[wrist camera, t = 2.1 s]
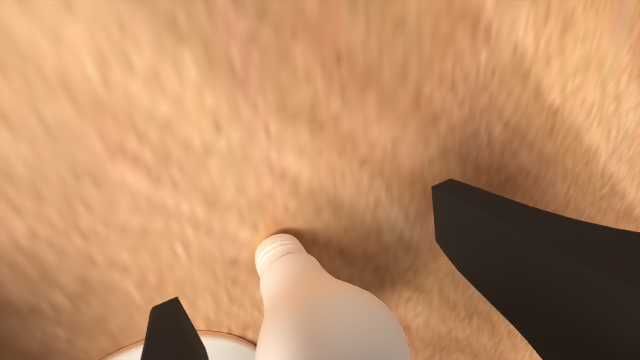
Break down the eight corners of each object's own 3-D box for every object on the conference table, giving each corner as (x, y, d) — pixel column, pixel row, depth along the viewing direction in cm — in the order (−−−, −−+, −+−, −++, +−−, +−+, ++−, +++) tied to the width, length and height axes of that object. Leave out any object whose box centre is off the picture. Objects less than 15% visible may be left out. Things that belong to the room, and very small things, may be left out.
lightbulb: (276, 304, 27) (361, 495, 18) (190, 264, 23) (244, 479, 15) (347, 227, 26) (470, 388, 17) (269, 174, 23) (375, 343, 14)
